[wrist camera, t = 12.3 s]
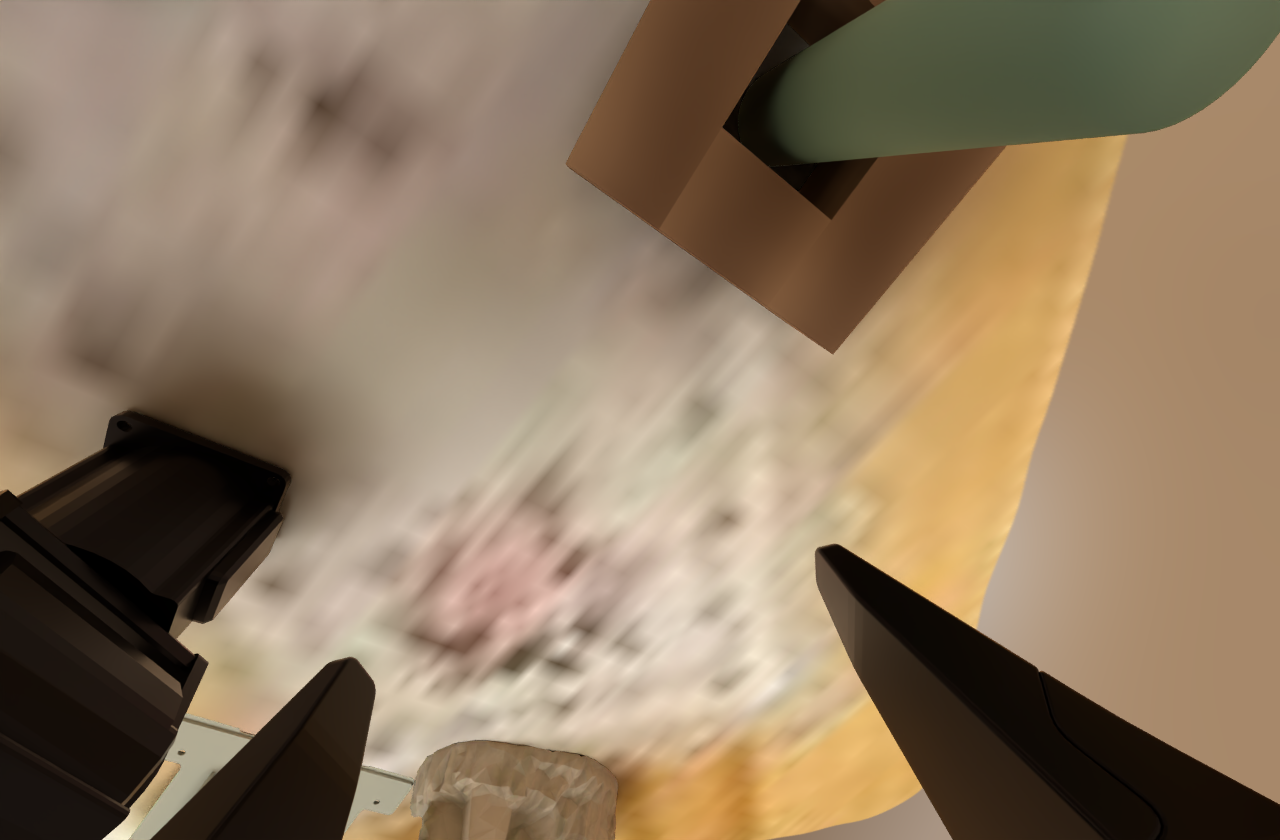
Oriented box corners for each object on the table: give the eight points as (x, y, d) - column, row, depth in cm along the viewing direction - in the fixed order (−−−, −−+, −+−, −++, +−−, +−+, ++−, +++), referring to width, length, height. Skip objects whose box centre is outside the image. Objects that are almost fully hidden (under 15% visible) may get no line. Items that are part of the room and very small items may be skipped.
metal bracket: (295, 963, 31) (16, 931, 26) (324, 865, 37) (99, 822, 31) (421, 792, 31) (167, 723, 25) (432, 720, 36) (224, 650, 31)
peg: (728, 158, 17) (1020, 106, 6) (750, 59, 16) (1178, -259, 4) (803, 173, 18) (1207, 154, 6) (829, 78, 17) (1398, -164, 5)
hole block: (569, 167, 17) (565, 163, 13) (760, -198, 13) (825, -336, 10) (789, 325, 21) (833, 354, 17) (986, 70, 17) (1093, 40, 13)
